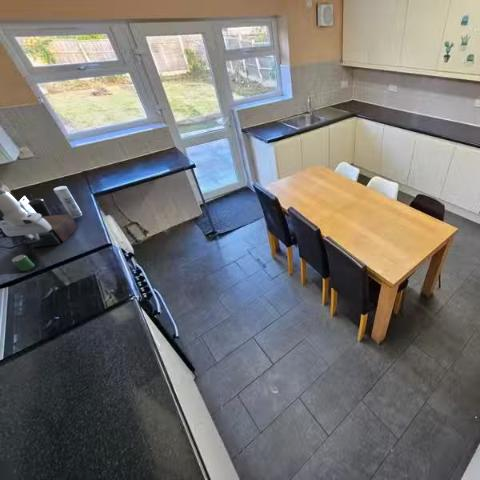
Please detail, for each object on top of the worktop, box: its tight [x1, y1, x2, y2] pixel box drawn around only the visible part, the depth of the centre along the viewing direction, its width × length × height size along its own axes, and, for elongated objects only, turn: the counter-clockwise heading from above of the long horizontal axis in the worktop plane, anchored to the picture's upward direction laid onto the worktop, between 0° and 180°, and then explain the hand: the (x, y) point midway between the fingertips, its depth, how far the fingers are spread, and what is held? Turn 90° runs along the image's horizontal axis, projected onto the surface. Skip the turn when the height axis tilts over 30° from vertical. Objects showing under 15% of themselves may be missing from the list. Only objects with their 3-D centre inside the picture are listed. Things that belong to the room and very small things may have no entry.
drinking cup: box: [28, 191, 53, 218], centre depth 172 cm, size 8×8×20 cm
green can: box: [11, 254, 35, 274], centre depth 139 cm, size 6×6×8 cm
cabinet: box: [42, 213, 79, 244], centre depth 161 cm, size 17×15×10 cm
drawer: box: [23, 231, 61, 248], centre depth 157 cm, size 20×13×8 cm, turn 10°
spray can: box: [53, 185, 83, 219], centre depth 175 cm, size 6×6×20 cm
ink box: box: [18, 195, 36, 213], centre depth 175 cm, size 8×5×15 cm, turn 25°
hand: (36, 239), depth 150 cm, fingers closed
